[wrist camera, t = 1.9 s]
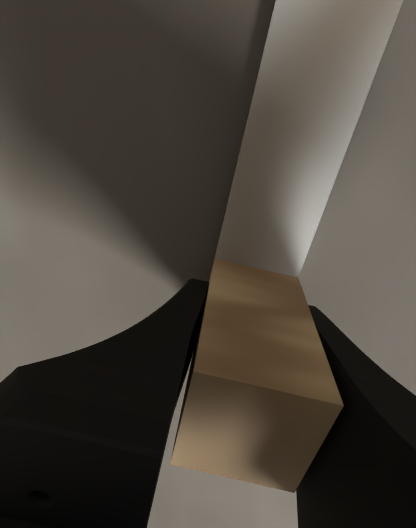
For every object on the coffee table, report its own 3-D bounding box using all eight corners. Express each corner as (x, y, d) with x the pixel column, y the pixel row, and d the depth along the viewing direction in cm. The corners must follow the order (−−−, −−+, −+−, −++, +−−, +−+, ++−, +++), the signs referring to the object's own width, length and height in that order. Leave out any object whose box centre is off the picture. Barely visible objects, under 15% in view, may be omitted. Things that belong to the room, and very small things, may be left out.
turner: (435, -110, 7) (1033, -806, 2) (271, 334, 13) (294, 492, 7) (308, -140, 7) (514, -925, 2) (200, 317, 13) (170, 464, 7)
